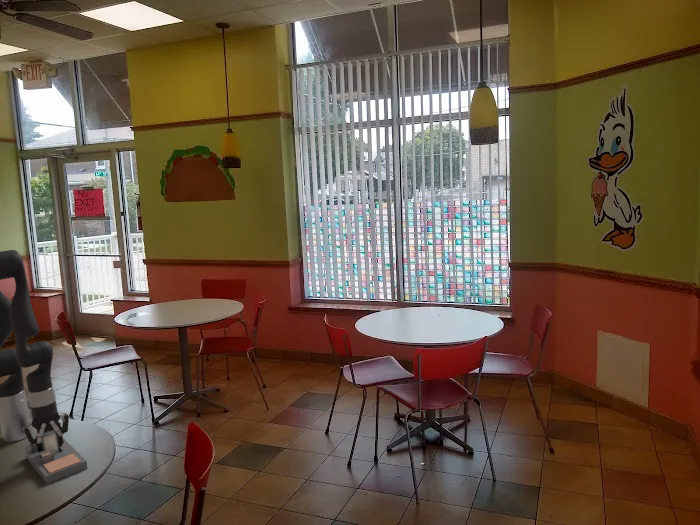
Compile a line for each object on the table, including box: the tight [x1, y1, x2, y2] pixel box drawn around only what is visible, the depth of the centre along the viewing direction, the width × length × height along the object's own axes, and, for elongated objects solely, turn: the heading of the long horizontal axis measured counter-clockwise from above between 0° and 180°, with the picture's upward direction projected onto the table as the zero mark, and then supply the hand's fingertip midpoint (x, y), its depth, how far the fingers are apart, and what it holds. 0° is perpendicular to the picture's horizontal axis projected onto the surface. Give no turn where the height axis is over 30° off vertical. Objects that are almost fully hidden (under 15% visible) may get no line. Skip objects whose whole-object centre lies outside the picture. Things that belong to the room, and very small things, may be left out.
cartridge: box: [41, 429, 59, 455], centre depth 185 cm, size 5×5×10 cm
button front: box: [40, 449, 50, 459], centre depth 179 cm, size 2×2×3 cm
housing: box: [25, 437, 88, 485], centre depth 182 cm, size 25×12×4 cm, turn 43°
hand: (50, 449), depth 185 cm, fingers open, 5 cm apart
